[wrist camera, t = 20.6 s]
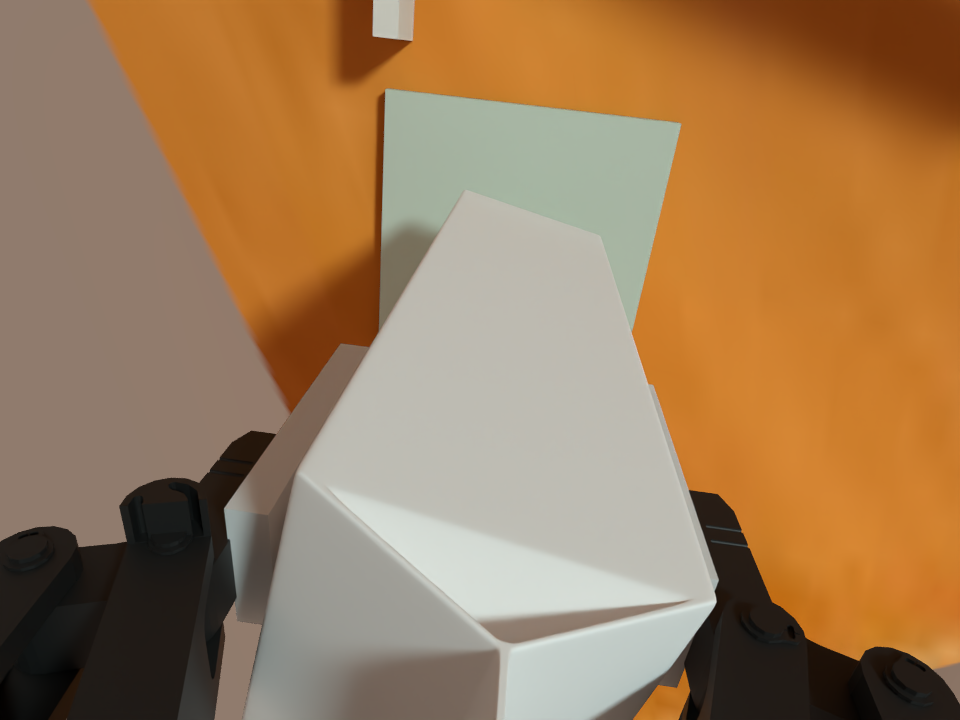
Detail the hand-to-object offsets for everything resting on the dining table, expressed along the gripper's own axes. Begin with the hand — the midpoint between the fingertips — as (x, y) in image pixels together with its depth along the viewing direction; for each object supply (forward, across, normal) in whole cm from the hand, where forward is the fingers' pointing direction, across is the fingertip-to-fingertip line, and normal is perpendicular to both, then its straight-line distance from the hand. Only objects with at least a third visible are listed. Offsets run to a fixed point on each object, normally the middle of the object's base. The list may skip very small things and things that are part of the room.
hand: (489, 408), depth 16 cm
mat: (+15, 0, 0) cm, 15 cm away
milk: (+11, 0, 0) cm, 11 cm away
